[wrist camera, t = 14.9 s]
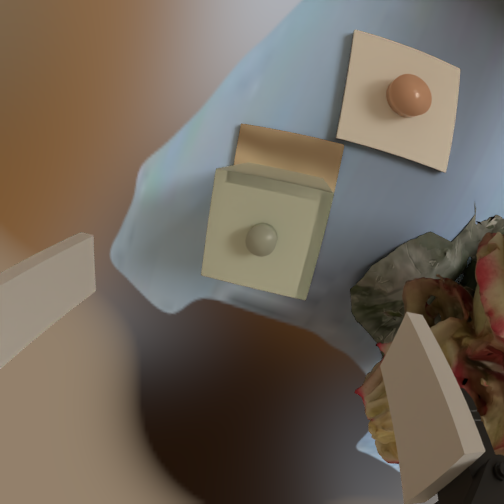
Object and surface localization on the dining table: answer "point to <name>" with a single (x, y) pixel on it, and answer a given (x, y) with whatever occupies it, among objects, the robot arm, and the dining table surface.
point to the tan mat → (289, 152)
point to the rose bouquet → (440, 319)
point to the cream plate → (379, 116)
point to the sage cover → (266, 228)
